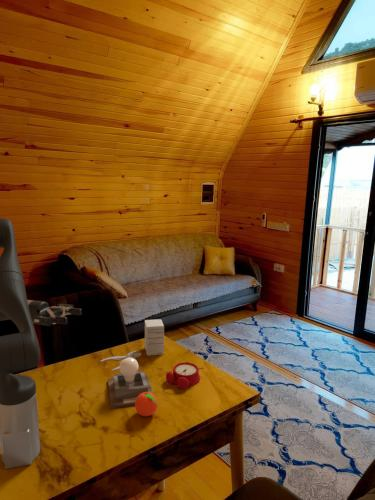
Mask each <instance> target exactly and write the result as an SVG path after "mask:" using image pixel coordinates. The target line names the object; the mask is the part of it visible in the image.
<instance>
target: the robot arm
mask: <svg viewBox="0 0 375 500" xmlns="http://www.w3.org/2000/svg"><path fill="white" fill-rule="evenodd" d="M0 249H3V250H2V252H1V255H0V322H2V321H3V322H4V321H8V320H11V322H13V323H14V324H15V326H16V327H17V329H18V331H19V332H17V333H11V334H5V335H0V455H1V461H2V463H3V464H4V468H5V470H6V469H12V468H13V469H14V468H18V467H22V466H23V467H25V466H29V465H32V464H33V461H34V460H35V459H36V458H37V457H39V454H40V452H41V441H40V439H41V438H40V430H39V429H40V428H39V427H40V426H39V414H38V413H39V412H38V399H37V398H38V397H37V385H36V381H35V380H34V378H32V377H30V376H27V375H21V374H14V373H17V372H22V371H25V370H30V369H34V368H36V367H37V366H39V364H40V362H41V349H40V344H39V339H38V336H37V334H36V333H37V332H36V329H35V326H34V325H38V326H44V327H50V326H52V325H56V324H59V325H67V324H68V317H66V316H68V315H73V316H81V315H83V313H82V312H83V311H82V308H78V307H74V304H65V303H57V306H56V305H53V306H50V304H49V303H48V302H47V301H41V300H31V299H28V298H27V290H26V284H25V281H24V277H23V273H22V268H21V266H20V261H19V258H18V250H17V244H16V234H15V228H14V225H13V223H12V221H11V220H10V219H9V218H1V217H0Z"/></svg>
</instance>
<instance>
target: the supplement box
mask: <svg viewBox="0 0 375 500" xmlns="http://www.w3.org/2000/svg"><path fill="white" fill-rule="evenodd" d="M144 348H145V349H144V350H145V353H146V354H145V355H146V356H157V355H158V356H159V355H164V354H165V325H164V323H163V320H162V319H145V320H144Z"/></svg>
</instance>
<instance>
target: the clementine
mask: <svg viewBox="0 0 375 500" xmlns="http://www.w3.org/2000/svg"><path fill="white" fill-rule="evenodd" d="M158 404H159V403H158V399H157V396H156V395H155V394H154V393H153V394H152V393H150V392H143V393H141V394H140V395H139V396H138V397H137V399H136V401H135V405H134V408H135V410H136V412H137V414H139V415H141V416H142V417H150V416H152V415H153V414H154V413H155V412H156V411H157V408H158Z"/></svg>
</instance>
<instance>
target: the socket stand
mask: <svg viewBox="0 0 375 500" xmlns="http://www.w3.org/2000/svg"><path fill="white" fill-rule="evenodd" d="M107 385H108V393H109V403H110V409H116V408H122V407H124V408H125V407H130V406H135V401H136V399H137V397H138V396H139V395H140V394H141V393H143V392H150V393H152V394H154V392H153V389H152V385H151V382H150V378H149V376H148V374H147V373H145V372H144V370H140V371H139V370H138V372H137V374H136V375H135V378H134V387H128V388H126V381H125V378H124V376H123V375H122V374H121V373H115V374H113V377H111V378H108V379H107Z"/></svg>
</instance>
